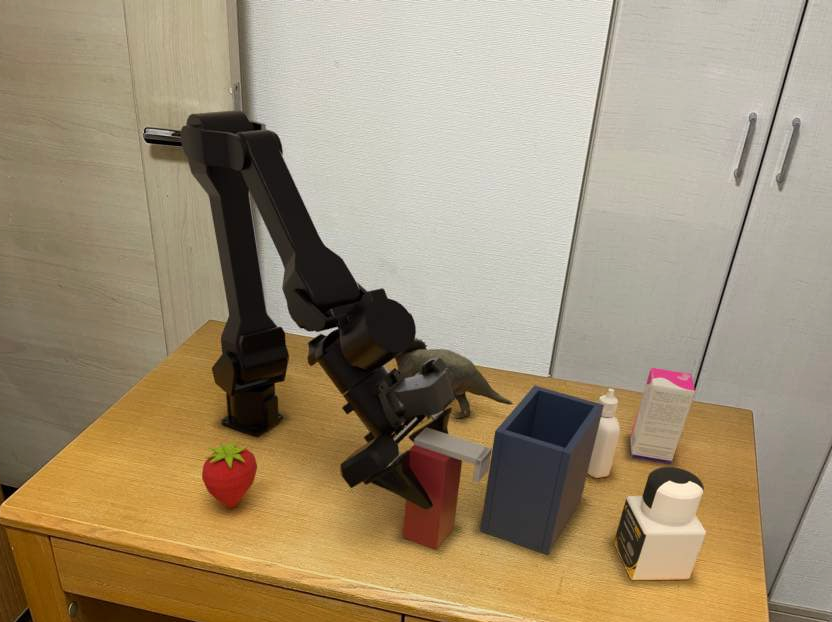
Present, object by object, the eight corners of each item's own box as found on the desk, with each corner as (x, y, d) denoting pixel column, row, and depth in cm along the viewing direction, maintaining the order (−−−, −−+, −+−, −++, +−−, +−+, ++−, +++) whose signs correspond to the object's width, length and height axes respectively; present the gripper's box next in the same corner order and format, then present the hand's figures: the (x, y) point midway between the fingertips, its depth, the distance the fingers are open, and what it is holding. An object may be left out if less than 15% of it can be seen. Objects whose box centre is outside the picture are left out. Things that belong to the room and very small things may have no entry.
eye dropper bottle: (607, 459, 113) (627, 382, 105) (608, 481, 108) (629, 402, 101) (576, 454, 113) (593, 377, 105) (576, 476, 109) (594, 397, 101)
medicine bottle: (612, 542, 98) (636, 459, 90) (668, 542, 98) (696, 459, 91) (630, 581, 92) (657, 496, 85) (689, 580, 93) (721, 496, 85)
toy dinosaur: (513, 423, 119) (524, 353, 112) (486, 447, 113) (497, 375, 106) (389, 380, 127) (392, 312, 120) (358, 400, 122) (360, 330, 115)
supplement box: (672, 464, 112) (696, 391, 105) (629, 458, 113) (650, 385, 106) (670, 443, 117) (692, 372, 110) (629, 437, 118) (648, 366, 110)
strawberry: (269, 497, 101) (266, 428, 95) (236, 530, 95) (230, 459, 89) (229, 484, 103) (223, 416, 96) (194, 515, 97) (185, 445, 91)
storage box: (479, 531, 98) (495, 430, 89) (517, 480, 107) (534, 385, 98) (548, 555, 95) (570, 453, 86) (580, 501, 104) (604, 404, 95)
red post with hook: (402, 537, 96) (409, 442, 88) (421, 516, 100) (429, 423, 91) (464, 560, 93) (477, 464, 85) (480, 537, 97) (495, 443, 89)
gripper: (368, 380, 77) (460, 508, 80) (449, 315, 90) (525, 427, 94) (300, 428, 85) (388, 543, 88) (384, 361, 98) (457, 464, 101)
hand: (443, 491), depth 93 cm, fingers open, 7 cm apart
